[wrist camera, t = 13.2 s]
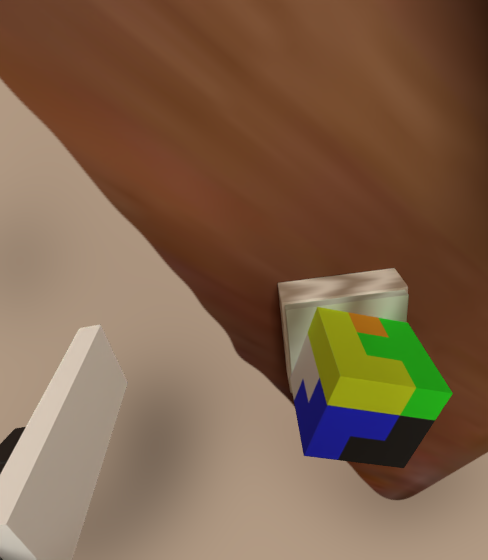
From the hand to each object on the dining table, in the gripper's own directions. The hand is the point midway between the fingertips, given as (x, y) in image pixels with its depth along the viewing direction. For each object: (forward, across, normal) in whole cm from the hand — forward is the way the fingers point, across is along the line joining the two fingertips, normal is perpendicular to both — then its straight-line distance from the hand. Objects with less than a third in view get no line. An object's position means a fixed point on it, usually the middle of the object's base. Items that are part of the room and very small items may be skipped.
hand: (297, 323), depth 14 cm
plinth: (+28, +5, -22) cm, 37 cm away
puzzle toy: (+24, +5, -23) cm, 33 cm away
